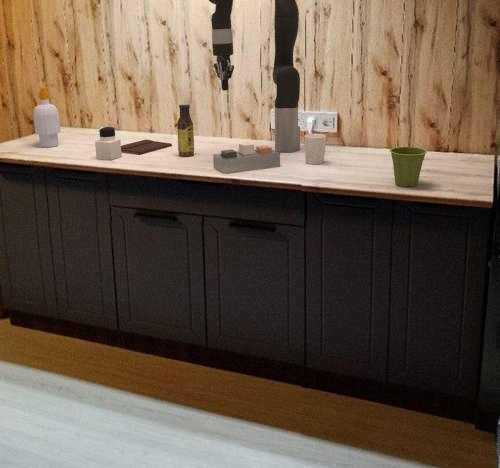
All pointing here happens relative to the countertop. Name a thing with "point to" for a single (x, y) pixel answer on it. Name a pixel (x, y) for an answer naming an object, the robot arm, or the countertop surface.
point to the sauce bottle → (185, 132)
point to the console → (246, 161)
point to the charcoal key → (228, 153)
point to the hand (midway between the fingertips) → (225, 90)
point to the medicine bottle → (108, 144)
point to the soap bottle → (46, 121)
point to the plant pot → (407, 164)
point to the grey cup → (315, 148)
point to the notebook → (143, 147)
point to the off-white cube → (246, 148)
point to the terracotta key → (263, 149)
